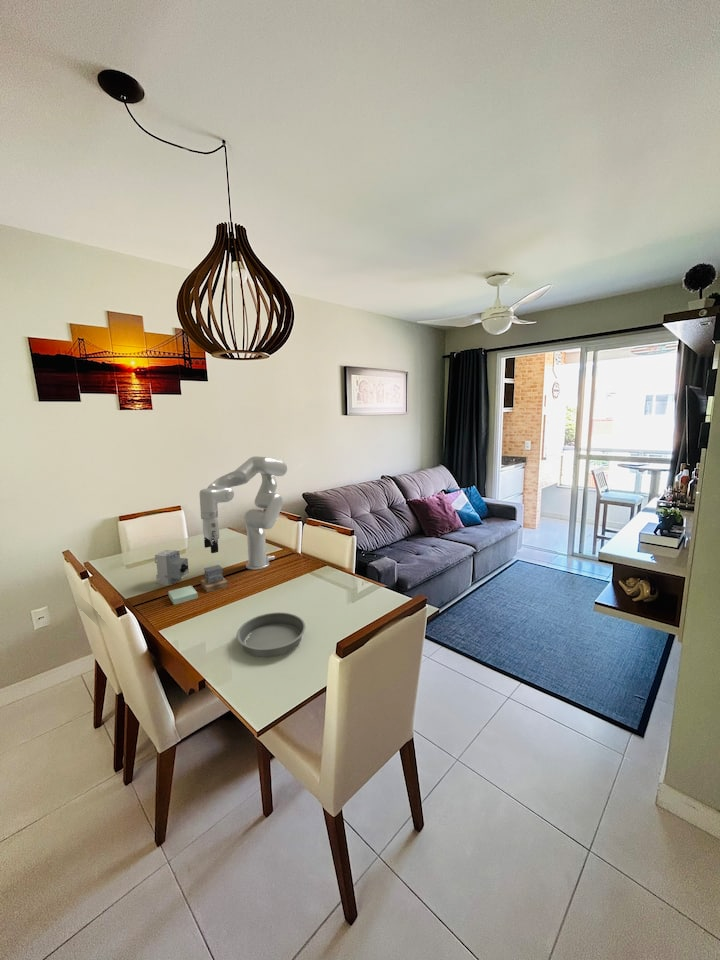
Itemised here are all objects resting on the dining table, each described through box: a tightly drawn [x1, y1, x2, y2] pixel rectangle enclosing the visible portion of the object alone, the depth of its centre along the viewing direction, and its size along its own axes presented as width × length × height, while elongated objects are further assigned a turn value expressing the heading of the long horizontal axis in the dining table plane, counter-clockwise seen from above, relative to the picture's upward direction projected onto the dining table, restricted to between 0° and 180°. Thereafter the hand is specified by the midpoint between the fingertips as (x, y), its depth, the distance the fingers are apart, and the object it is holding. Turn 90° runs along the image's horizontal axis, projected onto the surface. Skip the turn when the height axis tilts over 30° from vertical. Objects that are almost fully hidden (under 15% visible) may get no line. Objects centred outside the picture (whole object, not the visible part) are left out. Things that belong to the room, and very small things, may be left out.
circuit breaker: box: [154, 549, 190, 586], centre depth 187 cm, size 8×14×15 cm, turn 78°
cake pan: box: [236, 612, 307, 659], centre depth 140 cm, size 25×25×4 cm
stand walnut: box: [200, 576, 229, 593], centre depth 184 cm, size 10×10×2 cm
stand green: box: [168, 585, 199, 605], centre depth 172 cm, size 10×10×2 cm
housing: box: [203, 564, 224, 585], centre depth 183 cm, size 7×5×7 cm
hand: (211, 549), depth 181 cm, fingers open, 9 cm apart
